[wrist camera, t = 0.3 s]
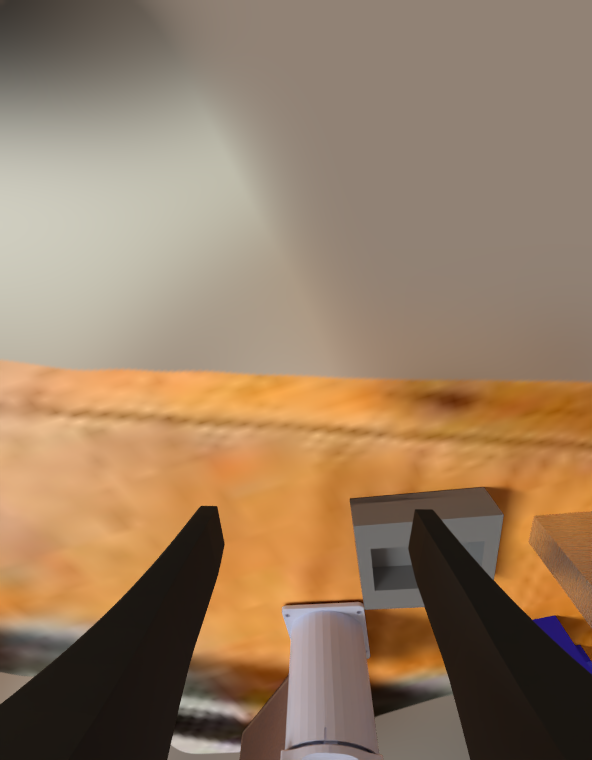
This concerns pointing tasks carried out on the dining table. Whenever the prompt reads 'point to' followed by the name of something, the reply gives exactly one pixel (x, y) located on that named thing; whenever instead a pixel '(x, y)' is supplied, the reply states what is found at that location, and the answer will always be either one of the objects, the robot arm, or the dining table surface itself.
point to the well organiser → (392, 534)
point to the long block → (567, 554)
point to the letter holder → (267, 729)
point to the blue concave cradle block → (564, 640)
